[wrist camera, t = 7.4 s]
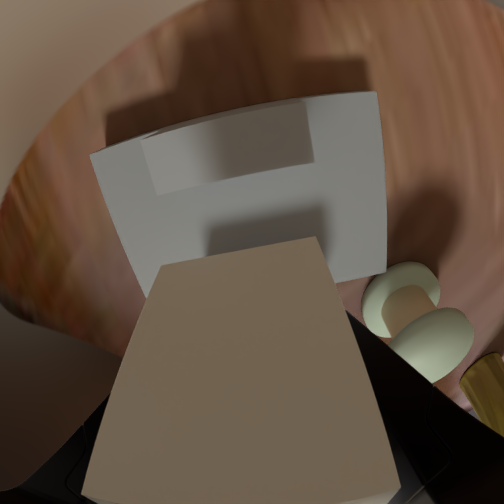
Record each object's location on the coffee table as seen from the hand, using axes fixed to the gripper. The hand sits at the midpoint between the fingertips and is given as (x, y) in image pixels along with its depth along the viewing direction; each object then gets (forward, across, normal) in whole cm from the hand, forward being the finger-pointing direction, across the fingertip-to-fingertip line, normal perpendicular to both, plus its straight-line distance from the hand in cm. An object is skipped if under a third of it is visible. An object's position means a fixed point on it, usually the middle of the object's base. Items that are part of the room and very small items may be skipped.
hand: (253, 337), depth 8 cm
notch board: (+10, 0, 0) cm, 10 cm away
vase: (+10, -22, +24) cm, 34 cm away
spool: (+10, -9, +9) cm, 16 cm away
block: (+1, 0, 0) cm, 1 cm away
